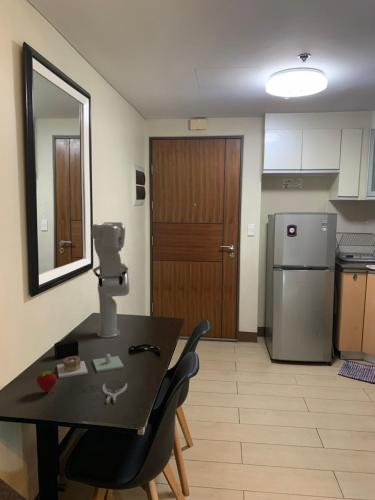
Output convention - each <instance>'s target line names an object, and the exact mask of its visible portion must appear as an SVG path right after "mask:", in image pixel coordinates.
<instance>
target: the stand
mask: <svg viewBox="0 0 375 500" xmlns="http://www.w3.org/2000/svg"><path fill="white" fill-rule="evenodd" d="M71 361H74V360H70V362H71ZM56 367H57V369H56V370H57V376H58V379H64V378H68V377H69V378H70V377H75V376H81V375H88V374H89V373H88V368H87V366H86V363H85V360H80V367H81V368H80V369H78V370H77V371H72V372H68V371H64V366H63V363H61V364H56Z"/></svg>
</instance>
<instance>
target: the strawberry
mask: <svg viewBox="0 0 375 500" xmlns="http://www.w3.org/2000/svg"><path fill="white" fill-rule="evenodd" d="M57 380H58V377H57V375H56V374H54V372H52V371H51V370H50V371H48V370H45V371H41V372H40V374H39V375H38V376H37V378H36V382H37V386H39V388H41V390H43V391H44V393H49V392H50V391H51V390H52V389H53V388H54V386H55V385H56V383H57Z"/></svg>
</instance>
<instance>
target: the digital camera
mask: <svg viewBox="0 0 375 500" xmlns="http://www.w3.org/2000/svg"><path fill="white" fill-rule="evenodd" d="M71 356H76V357H78V356H79V341H78V340H76V339H70V340H64V341H58V342H55V343H54V358H55V359H56V360H57V361H58V360H63V359H65V358H67V357H71Z"/></svg>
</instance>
